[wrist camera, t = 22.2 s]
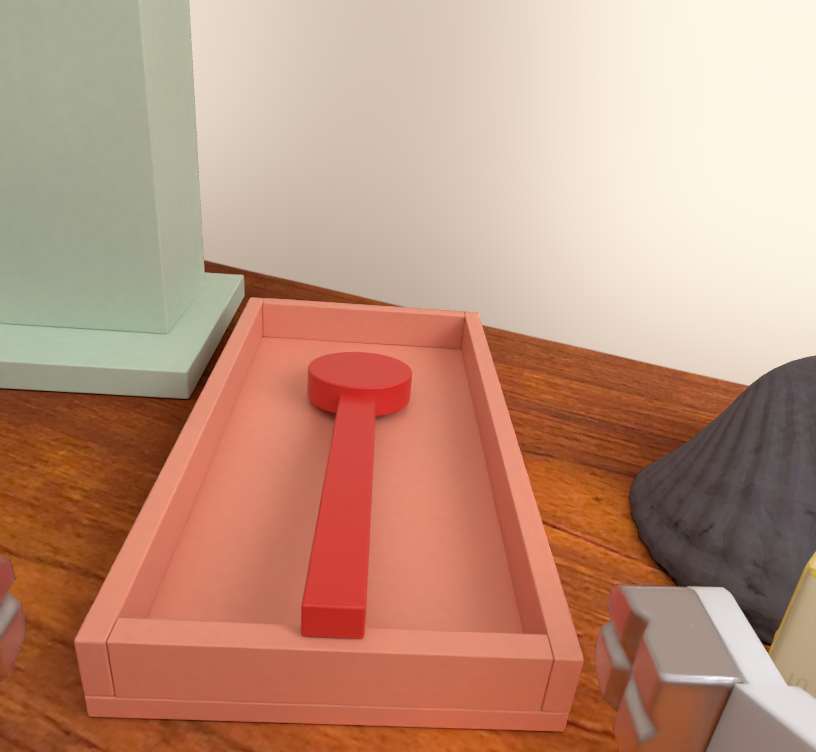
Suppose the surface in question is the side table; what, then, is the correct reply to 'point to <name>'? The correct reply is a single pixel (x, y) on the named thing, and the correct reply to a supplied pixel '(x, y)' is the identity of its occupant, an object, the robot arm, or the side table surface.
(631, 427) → the side table surface
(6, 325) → the stand
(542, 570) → the tray
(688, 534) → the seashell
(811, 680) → the candy box
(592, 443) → the side table surface
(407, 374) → the red spoon
